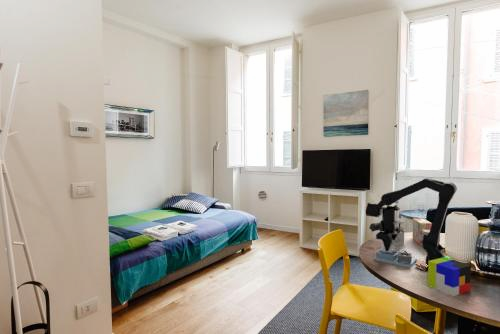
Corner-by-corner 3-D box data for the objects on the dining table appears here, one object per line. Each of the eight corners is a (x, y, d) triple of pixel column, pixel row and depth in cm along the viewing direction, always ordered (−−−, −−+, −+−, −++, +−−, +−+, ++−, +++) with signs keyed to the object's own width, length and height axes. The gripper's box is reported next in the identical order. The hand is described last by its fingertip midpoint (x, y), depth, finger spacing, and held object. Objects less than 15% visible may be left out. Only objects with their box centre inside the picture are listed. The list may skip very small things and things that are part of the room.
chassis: (416, 260, 149) (416, 252, 149) (410, 268, 141) (410, 259, 140) (382, 253, 159) (382, 246, 159) (374, 259, 151) (374, 251, 151)
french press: (398, 249, 166) (399, 203, 164) (380, 243, 176) (380, 199, 174) (410, 246, 170) (410, 201, 169) (391, 240, 181) (392, 198, 179)
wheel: (411, 258, 146) (411, 253, 146) (411, 262, 141) (411, 257, 141) (397, 256, 149) (398, 251, 149) (397, 260, 144) (397, 255, 144)
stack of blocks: (439, 250, 163) (439, 227, 162) (426, 250, 164) (426, 227, 163) (423, 238, 184) (424, 218, 183) (412, 238, 185) (412, 217, 184)
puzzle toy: (453, 296, 114) (453, 270, 114) (427, 285, 123) (428, 260, 123) (470, 290, 118) (470, 265, 118) (444, 280, 127) (445, 256, 127)
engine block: (394, 251, 152) (394, 238, 152) (392, 254, 149) (392, 240, 149) (384, 249, 156) (384, 236, 155) (381, 251, 153) (381, 238, 152)
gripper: (377, 213, 164) (377, 242, 165) (365, 220, 149) (365, 251, 150) (400, 215, 156) (400, 246, 157) (389, 223, 142) (389, 256, 143)
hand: (388, 249), depth 152 cm, fingers closed on engine block, 4 cm apart
